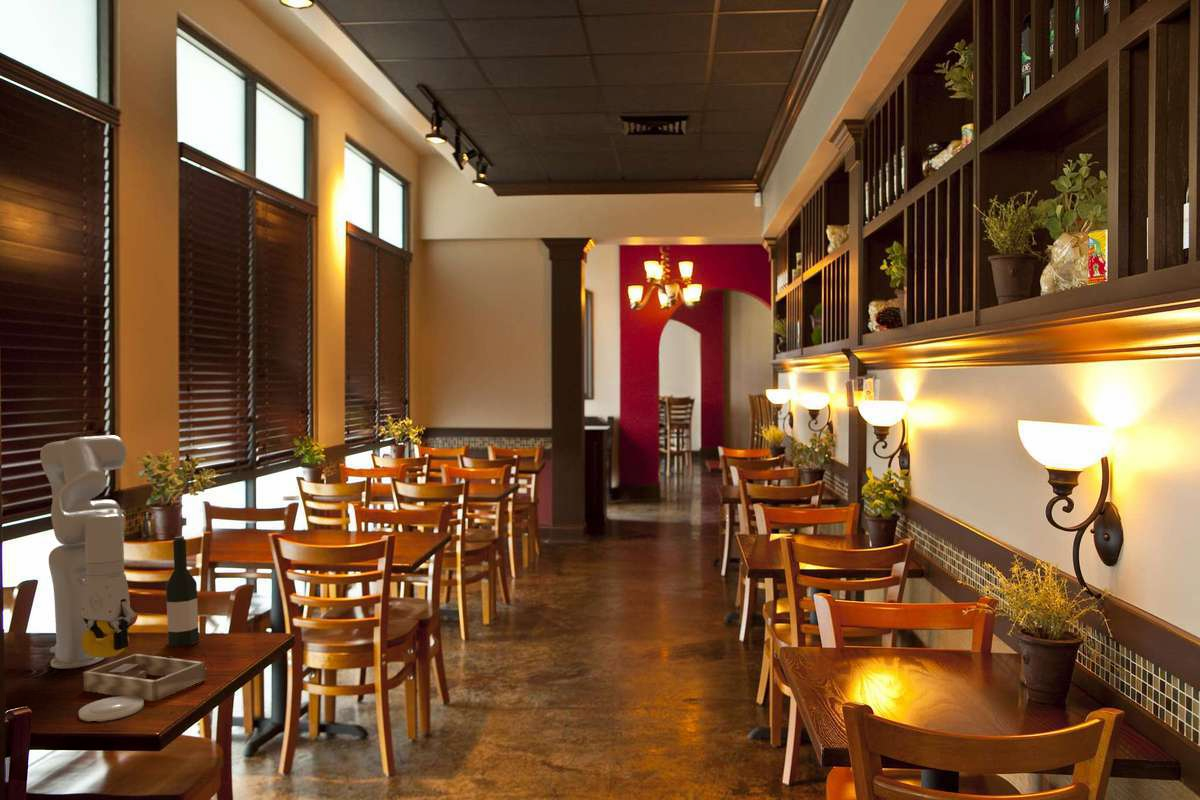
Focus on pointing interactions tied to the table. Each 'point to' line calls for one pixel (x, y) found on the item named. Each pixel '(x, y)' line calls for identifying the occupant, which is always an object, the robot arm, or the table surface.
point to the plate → (111, 708)
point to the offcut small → (126, 670)
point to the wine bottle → (181, 600)
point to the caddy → (175, 679)
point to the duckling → (102, 640)
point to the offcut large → (140, 675)
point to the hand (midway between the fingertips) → (109, 646)
